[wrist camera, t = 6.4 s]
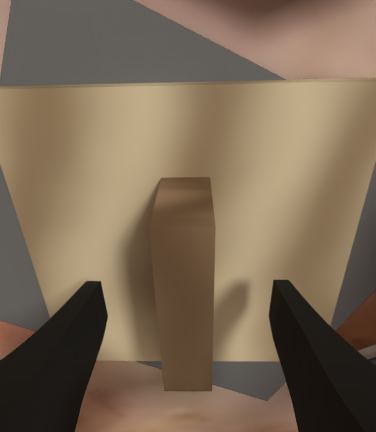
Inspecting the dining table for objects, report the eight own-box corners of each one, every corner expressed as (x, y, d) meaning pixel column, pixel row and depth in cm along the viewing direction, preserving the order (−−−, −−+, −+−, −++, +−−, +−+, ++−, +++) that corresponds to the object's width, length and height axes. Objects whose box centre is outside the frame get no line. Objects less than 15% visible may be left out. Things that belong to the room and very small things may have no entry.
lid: (382, 77, 12) (493, 97, 7) (314, 346, 19) (350, 437, 15) (-8, 86, 12) (-121, 110, 8) (70, 346, 20) (33, 434, 15)
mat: (474, 177, 14) (481, 181, 14) (266, 395, 22) (266, 400, 22) (25, -56, 10) (19, -59, 10) (-29, 305, 19) (-34, 310, 18)
